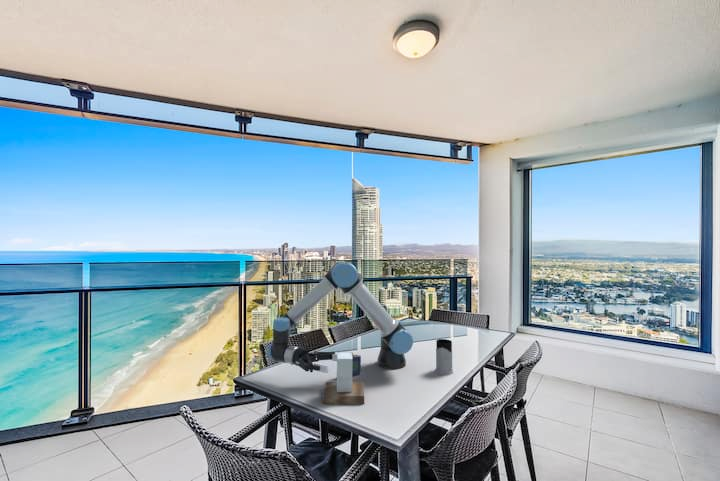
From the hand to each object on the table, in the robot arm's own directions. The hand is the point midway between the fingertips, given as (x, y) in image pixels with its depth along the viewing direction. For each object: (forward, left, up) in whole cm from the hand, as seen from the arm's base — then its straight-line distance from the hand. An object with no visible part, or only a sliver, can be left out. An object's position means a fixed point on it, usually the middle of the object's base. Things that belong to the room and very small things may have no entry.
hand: (336, 364), depth 128 cm
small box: (-3, +1, -9) cm, 10 cm away
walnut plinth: (-3, +1, -12) cm, 13 cm away
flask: (-6, -21, -12) cm, 25 cm away
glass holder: (-54, -29, -12) cm, 62 cm away
